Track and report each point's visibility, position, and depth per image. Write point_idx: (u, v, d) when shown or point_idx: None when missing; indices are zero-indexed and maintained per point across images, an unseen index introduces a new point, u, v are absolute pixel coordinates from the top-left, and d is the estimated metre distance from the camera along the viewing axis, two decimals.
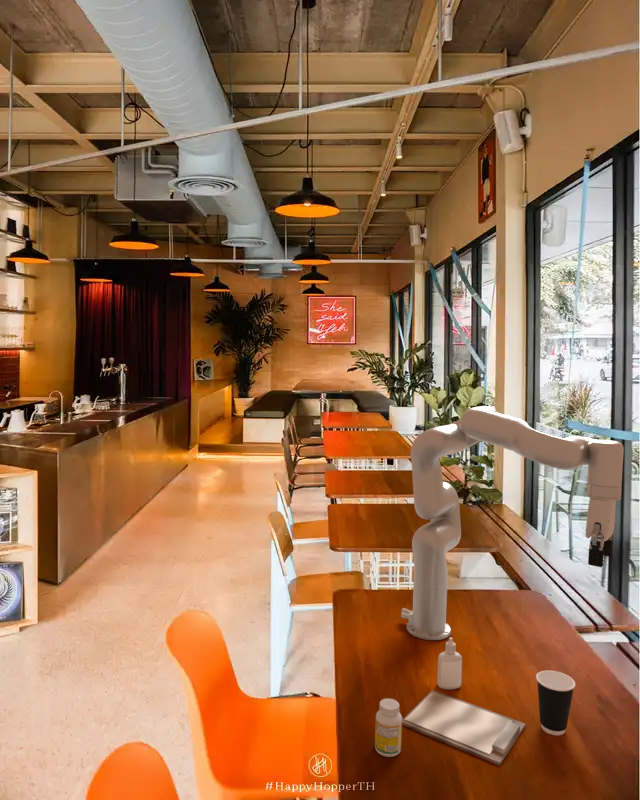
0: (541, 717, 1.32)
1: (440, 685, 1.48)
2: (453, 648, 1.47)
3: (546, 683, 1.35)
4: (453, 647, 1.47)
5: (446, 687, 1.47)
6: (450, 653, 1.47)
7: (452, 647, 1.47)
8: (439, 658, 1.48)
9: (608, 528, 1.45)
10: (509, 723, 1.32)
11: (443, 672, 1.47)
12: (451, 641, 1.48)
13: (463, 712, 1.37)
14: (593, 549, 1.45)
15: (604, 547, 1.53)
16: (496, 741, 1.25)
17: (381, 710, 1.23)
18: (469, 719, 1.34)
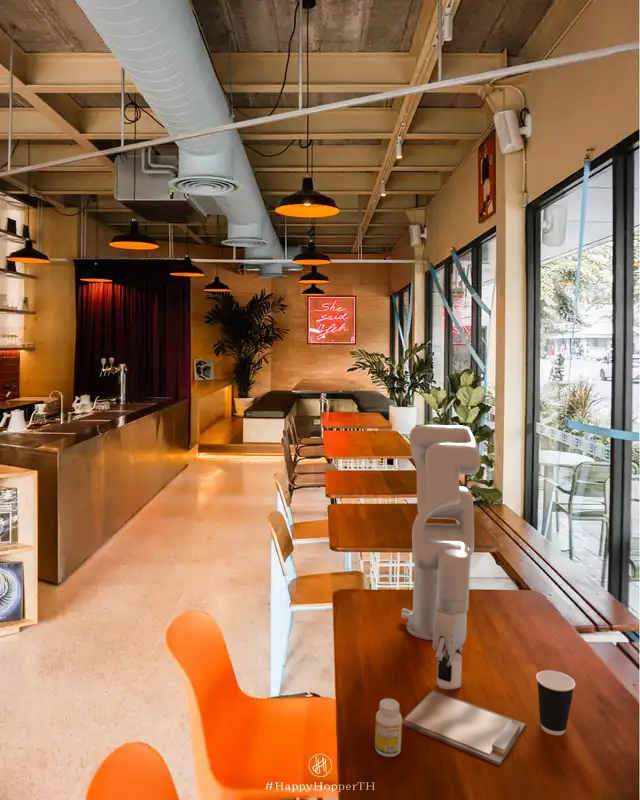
0: (541, 717, 1.32)
1: (440, 685, 1.48)
2: None
3: (546, 683, 1.35)
4: None
5: (446, 687, 1.47)
6: None
7: None
8: None
9: (453, 642, 1.44)
10: (509, 723, 1.32)
11: None
12: None
13: (463, 712, 1.37)
14: (441, 664, 1.45)
15: None
16: (496, 741, 1.25)
17: (381, 710, 1.23)
18: (469, 719, 1.34)
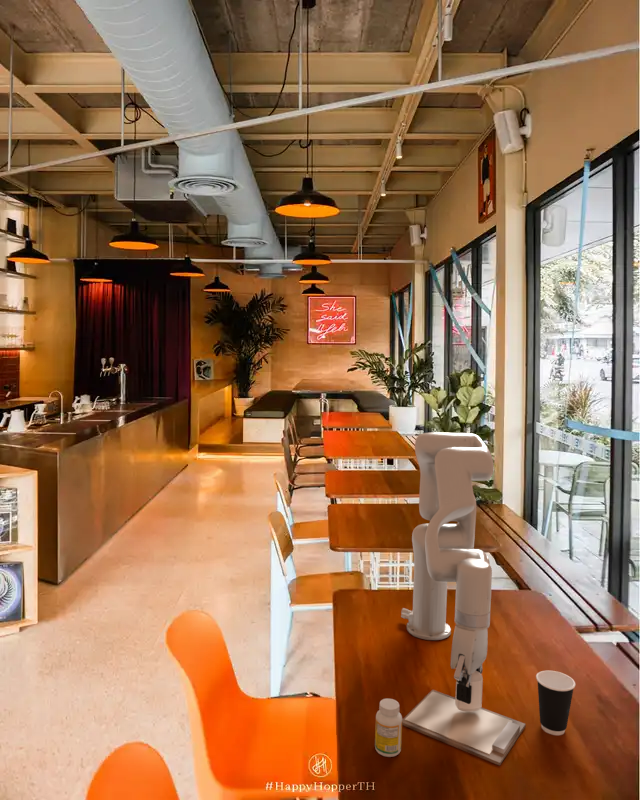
0: (541, 717, 1.32)
1: (459, 707, 1.35)
2: None
3: (546, 683, 1.35)
4: None
5: (465, 709, 1.35)
6: None
7: None
8: None
9: (473, 661, 1.31)
10: (509, 723, 1.32)
11: None
12: None
13: (463, 712, 1.37)
14: (460, 684, 1.33)
15: None
16: (496, 741, 1.25)
17: (381, 710, 1.23)
18: (469, 719, 1.34)
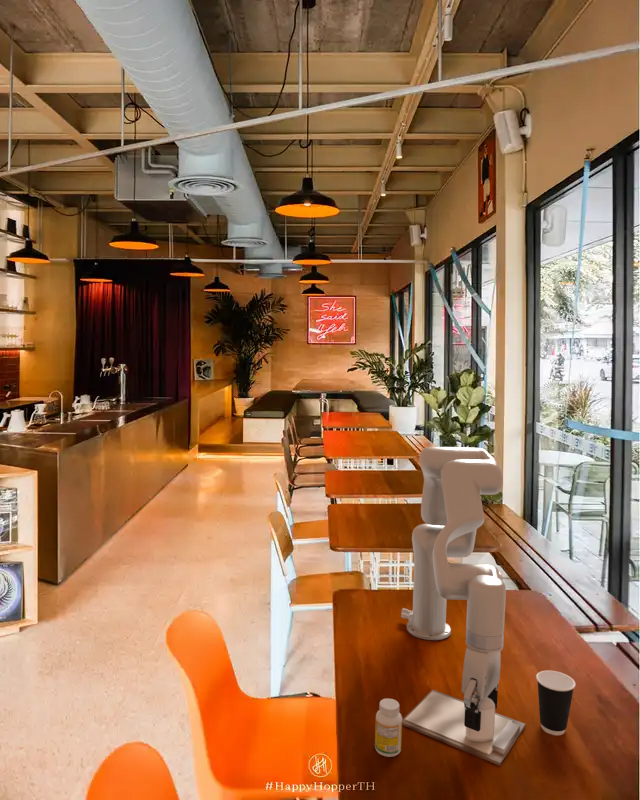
0: (541, 717, 1.32)
1: (469, 737, 1.26)
2: None
3: (546, 683, 1.35)
4: None
5: (476, 739, 1.26)
6: (482, 700, 1.26)
7: None
8: None
9: (486, 685, 1.22)
10: (509, 723, 1.32)
11: None
12: None
13: (463, 712, 1.37)
14: (468, 710, 1.23)
15: None
16: (496, 741, 1.25)
17: (381, 710, 1.23)
18: None
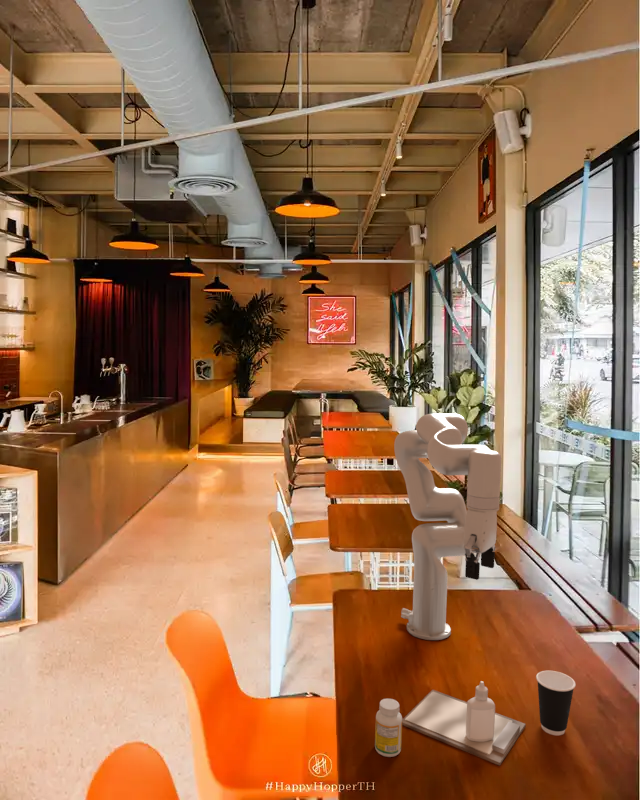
0: (541, 718, 1.32)
1: (469, 737, 1.26)
2: (485, 694, 1.26)
3: (546, 683, 1.35)
4: (485, 693, 1.26)
5: (476, 739, 1.26)
6: (482, 700, 1.26)
7: (484, 693, 1.26)
8: (468, 705, 1.27)
9: (484, 540, 1.42)
10: (509, 723, 1.32)
11: (473, 722, 1.26)
12: (482, 685, 1.27)
13: (463, 712, 1.37)
14: (469, 561, 1.42)
15: (487, 559, 1.50)
16: (496, 741, 1.25)
17: (381, 710, 1.23)
18: None
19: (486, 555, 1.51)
